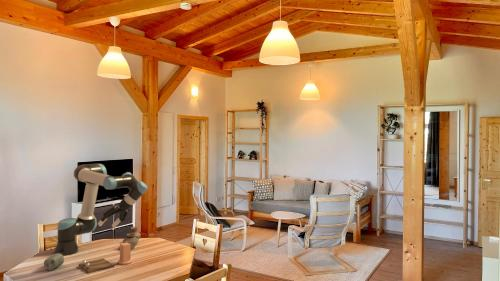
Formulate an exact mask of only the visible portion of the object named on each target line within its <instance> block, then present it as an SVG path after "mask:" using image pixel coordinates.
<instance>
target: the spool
mask: <svg viewBox="0 0 500 281" xmlns="http://www.w3.org/2000/svg"><path fill="white" fill-rule="evenodd" d="M64 262H65V257H64V255H62V254H60V253H57V254H55V253H54V254H51V255H50V256H48V257H47V258H46V259H45V260H44V262H43V266H44V268H45V269H46V270H48V271H53V270H55V269H56V268H57V267H59V266H61V265H63V264H64Z"/></svg>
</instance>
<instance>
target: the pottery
mask: <svg viewBox="0 0 500 281" xmlns="http://www.w3.org/2000/svg"><path fill="white" fill-rule="evenodd" d="M141 235H142V234H141V233H140V232H139V231H138V226H132V227H131V228H130V233H129V232H128V233H126V237H125V238H123V239H122V243H129V244H131V250H135V247H136V246H137V245H138V243H139V240H140V238H141Z"/></svg>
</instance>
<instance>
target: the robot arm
mask: <svg viewBox="0 0 500 281" xmlns="http://www.w3.org/2000/svg"><path fill="white" fill-rule="evenodd" d="M73 177H74V178H75V180H77V181H79V182H82V183H85V184H86V185H85V188H84V194H83V199H82V204H81V209H80V212H79V213H78V215H77V218H75V217H69V218H68V217H67V218H63V219H61V220H59V221H58V224H57V227H56V228H57V243H56V245H55V249H54V254H57V253H60V254H62V255H63V256H71V255H74V254H76V253H78V252H79V246H78V243H77V239H76V238H77V236H80V235H85V234H89V233H92V232H94V231H95V229H97V226H99V227H102V225H104V223H106V222H107V220H108V218H110V217H112V216H114V215H117V214H119V217H117V218H116V220H115V221H114V222H113V223H112V224H111V227H112V228H113V229H116V227H117V226H118V225H119V224H120V223H121V222H122V223H123V222H124V221H125V220H126V219H127V217H128V214H129V213H130V211H131V208H132V207H133V205H135V204H136V202H137V201H138V200H139V199H140V197H141V196H143V195H144V194H145V193H146V192H147V190H148V186H147V184H146V183H144V182H143V181H141V180H139V181H138V180H137V178H136V177H135V176H134V175H133V174H132V173H131V172H130V171H129V172H128V171H127V172H125V173H122V175H121V176H113V175H109V174H108V172H107V168H106V167H105V165H104V164H102V163H90V164H89V163H88V164H86V163H85V164H81V165H78V166H77V167H75V169H74V171H73ZM99 186H101V187H103V188H104V189H105V190H116V189H121V188H127V189H128V190H129V192H128V193H127V194H126V195H125V196H124V197H123V198H122V199H121V200H120V202H119V205H118V204H115V205H114V206H112V207H111V208H110V209H108V210H106V211H105V212H103V213H102V215H103V216H102V218H101V219H100V220H99V221H98V222H97V218H96V216H95V215H94V212H95V206H96V201H97V196H98V190H99Z"/></svg>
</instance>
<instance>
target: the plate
mask: <svg viewBox="0 0 500 281" xmlns="http://www.w3.org/2000/svg"><path fill="white" fill-rule="evenodd" d="M86 263H90V268H89V269H86V266H82V262H81V263H78V268H80V269H82V270H83V271H84V272H85V273H87V274H91V273H96V272H99V271H100V272H101V271H105V270H108V269H112V268H114V267H115V264H113V263H112V262H110V261H108V260H107V259H105V258H99V259H95V260H90V261H86Z"/></svg>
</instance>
